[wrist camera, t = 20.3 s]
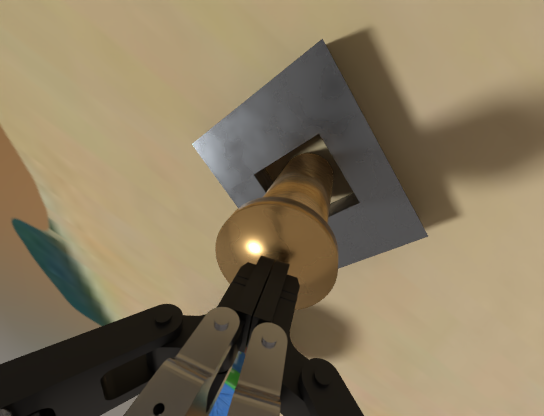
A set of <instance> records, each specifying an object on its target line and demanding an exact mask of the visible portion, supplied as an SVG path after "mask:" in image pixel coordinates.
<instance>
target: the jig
mask: <svg viewBox="0 0 544 416" xmlns="http://www.w3.org/2000/svg"><path fill="white" fill-rule="evenodd" d="M317 134H320V136H321V138H322V139H323V141H324V143H325V144H326V146H327V148H328V149H329V151H330V153H331V155H332V156H333V158H334V160H335V161H336V163H337V165H338V166H339V168H340V170H341V171H342V173H343V175H344V177H345V178H346V180H347V182H348V183H349V185H350V187H351V188H352V190H353V192H354V193H352V194H350V195H348V196H346V197H344V198H342V199H340V200H338V201H336V202H333V203H331V204H330V209H329V216H328V225H329V226H330V228H331V229H332V231H333V233H334V235H335V238H336V241H337V245H338V268H341V267H344V266H347V265H350V264H352V263H355V262H358V261H361V260H364V259H366V258H369V257H372V256H375V255H378V254H380V253H383V252H386V251H389V250H392V249H394V248H397V247H400V246H403V245H405V244H408V243H411V242H414V241H417V240H419V239H422V238H425V237H428V235H427V233H426V231H425V229H424V227H423V226H422V224H421V222H420V220H419V218H418V216H417V214H416V213H415V211H414V209H413V207H412V205H411V203H410V201H409V199H408V198H407V196H406V194H405V192H404V190H403V188H402V186H401V185H400V183H399V181H398V179H397V177H396V175H395V173H394V171H393V170H392V168H391V166H390V164H389V162H388V160H387V158H386V157H385V155H384V153H383V151H382V149H381V147H380V145H379V143H378V142H377V140H376V138H375V136H374V134H373V132H372V130H371V129H370V127H369V125H368V123H367V121H366V119H365V117H364V115H363V114H362V112H361V110H360V108H359V106H358V104H357V102H356V101H355V99H354V97H353V95H352V93H351V91H350V89H349V87H348V86H347V84H346V82H345V80H344V78H343V76H342V74H341V72H340V71H339V69H338V67H337V65H336V63H335V61H334V59H333V58H332V56H331V54H330V52H329V50H328V48H327V46H326V44H325V43H324V41H323V39H322V40H320V41H319V42H318V43H317V44H315V45H314V46H313V47H312V48H310V49H309V50H308V51H307V52H305V53H304V54H303V55H302V56H300V57H299V58H298V59H297V60H296V61H294V62H293V63H292V64H291V65H289V66H288V67H287V68H286V69H284V70H283V71H282V72H281V73H279V74H278V75H277V76H276V77H274V78H273V79H272V80H271V81H270V82H268V83H267V84H266V85H265V86H263V87H262V88H261V89H260V90H258V91H257V92H256V93H255V94H253V95H252V96H251V97H250V98H248V99H247V100H246V101H245V102H244V103H242V104H241V105H240V106H239V107H237V108H236V109H235V110H234V111H232V112H231V113H230V114H229V115H227V116H226V117H225V118H224V119H222V120H221V121H220V122H219V123H217V124H216V125H215V126H214V127H213V128H211V129H210V130H209V131H208V132H206V133H205V134H204V135H203V136H201V137H200V138H199V139H198V140H196V141H195V142H194V143H193V144H192V145H193V146H194V148H195V149H196V150H197V152H198V153H199V155H200V156H201V157H202V159H203V160H204V162H205V163H206V164H207V166H208V167H209V168H210V170H211V171H212V173H213V174H214V175H215V177H216V178H217V179H218V181H219V182H220V184H221V185H222V186H223V188H224V189H225V190H226V192H227V193H228V195H229V196H230V197H231V199H232V200H233V201H234V203H235V204H236V206H237V207H238V208H239V207H241V206H242V205H244V204H245V203H247V202H249V201H251V200H254V199H257V198H262V197H263V196H264V195H265V194H266V192H267V191H268V189H269V188H270V187H271V185H272V184H273V183H274V182H273V181H272V179H271V178H270V176H269V175H268V173H267V172H266V170H265V169H264V168H265V167H267V166H268V165H270V164H271V163H273V162H274V161H276V160H278V159H279V158H281V157H282V156H284V155H286V154H287V153H289V152H290V151H292V150H294V149H295V148H297V147H298V146H300V145H301V144H303V143H305V142H306V141H308V140H309V139H311V138H313V137H314V136H316V135H317Z"/></svg>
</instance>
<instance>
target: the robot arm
mask: <svg viewBox="0 0 544 416" xmlns="http://www.w3.org/2000/svg"><path fill="white" fill-rule="evenodd" d="M289 266H290V264H288V263H285V262H282V261H278V260H276V261H275V259H272V258H268V257H265V256H262V255H261V256H260V258H259V260H258V262H257V264H253V263H249V262H247V263H246V264H244V265H243V266H241V267H240V269H239V270H238V272H237V274H236V276H235V277H234V279H233V281H232V282H231V284H230V286H229V288H228V289H227V291H226V293H225V295H224V296H223V298H222V300H221V301H220V303H219V305H218V306H217V308H214V309H212V310H210V311H209V312H208V313H207V314H206V315H201V316H186V315H183V314H182V311H181V310H180V308H178V307H177V306H175V305H172V304H162V305H158V306H156V307H153V308H150V309H147V310H145V311H142V312H139V313H137V314H134V315H131V316H129V317H126V318H123V319H121V320H118V321H115V322H113V323H110V324H107V325H105V326H102V327H99V328H97V329H94V330H91V331H88V332H86V333H83V334H80V335H78V336H75V337H73V338H70V339H67V340H64V341H62V342H59V343H56V344H54V345H51V346H48V347H45V348H43V349H40V350H38V351H35V352H32V353H29V354H27V355H25V356H21V357H19V358H16V359H14V360H11V361H8V362H5V363H3V364H0V416H100V415H102V414H104V413H106V412H107V411H109V410H111V409H113V408H115V407H117V406H118V405H120V404H122V403H124V402H126V401H128V400H129V399H131V398H133V397H135V396H136V395H138V394H139V395H138V397H137V398H136V399H135V401H134V402H133V404H132V405H131V406H130V408H129V409H128V410H127V411H126V413H125V414H124V415H123V416H209V414H210V412H211V410H212V408H213V406H214V404H215V402H216V400H217V398H218V396H219V394H220V392H221V390H222V388H223V386H224V383H225V381H226V379H227V377H228V375H229V373H230V371H231V369H232V365H233V363H234V361H235V359H236V356H237V354H238V351H240V352H243V353H244V352H245V349H246V347H247V349H246V355H245V359H244V362H243V366H242V369H241V373H240V376H239V380H238V383H237V386H236V388H235V391H234V394H233V397H232V400H231V404H230V407H229V411H228V414H227V416H280V413H281V414H282V415H283V416H364V415H363V413H362V411H361V410H360V408H359V406H358V405H357V403H356V401H355V400H354V398H353V396H352V395H351V393H350V391H349V390H348V388H347V386H346V385H345V383H344V381H343V380H342V378H341V376H340V375H339V373H338V371H337V370H336V368H335V367H334V366H333V365H332V364H331V363H329V362H328V361H326V360H324V359H320V358H313V359H310V360H309V359H307V358H306V357H305V356H303V355H302V354H301V353H299V352H298V351H297V350H296V349H295V347H294V346H293V344H292V342H291V340H290V335H289V332H290V327H291V322H292V318H293V314H294V309H295V305H296V301H297V296H298V292H299V288H300V285H299V282H298V278H297V277H294V276H291V275H288V270H289ZM247 344H248V345H247Z"/></svg>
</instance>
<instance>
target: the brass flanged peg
mask: <svg viewBox="0 0 544 416" xmlns="http://www.w3.org/2000/svg"><path fill="white" fill-rule="evenodd" d="M332 186H333V171H332V168H331V166H330V164H329V163H328V162H327V161H326V160H325V159H324V158H323V157H321V156H319V155H317V154H313V153H303V154H299V155H297V156H295V157H294V158H292V159H291V160H290V161H289V162H288V164H287V165H286V166H285V168H284V169H283V170H282V172H281V173H280V174H279V176H278V177H277V179H276V180H275V181H274V183H273V184H272V185H271V187H270V188H269V189H268V191H267V192H266V194H265V195H264V196H263V197H262V198H257V199H254V200H251V201H249V202H247V203H245V204H244V205H242V206H241V207H239V208H238V209H237V210H236V211H235V212H234V213H233V214H232V215H231V217H230V218H229V219H228V220H227V221H226V222H225V224H224V225H223V226H222V228H221V230H220V231H219V234H218V237H217V240H216V258H217V262H218V265H219V267H220V270H221V272H222V273H223V275H224V277H225V278H226V280H227V281H228V282H229V283H230V284H231V282H232V281H233V279H234V277H235V276H236V274H237V272H238V270H239V269H240V267H241V266H243V265H244V264H246V263H247V262H249V263H253V264H257V262H258V260H259V258H260V256H261V255H262V256H265V257H268V258H272V259H275V261H276V260H278V261H282V262H285V263H288V264H290V266H289V270H288V275H291V276H294V277H297V278H298V282H299V285H300V288H299V292H298V296H297V301H296V305H295V309H294V310H298V309H303V308H307V307H309V306H312V305H314V304H316V303H318V302H319V301H321V300H322V299H323V298H325V297H326V296H327V295H328V294H329V292H330V291H331V289H332V288H333V286H334V284H335V281H336V278H337V272H338V245H337V241H336V238H335V235H334V233H333V231H332V229H331V228H330V226H329V225H328V216H329V209H330V201H331V194H332Z"/></svg>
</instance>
